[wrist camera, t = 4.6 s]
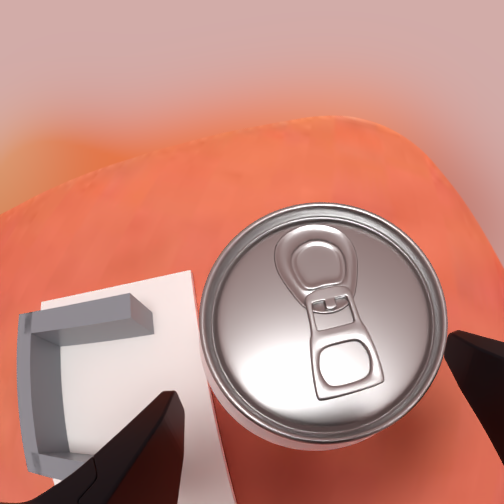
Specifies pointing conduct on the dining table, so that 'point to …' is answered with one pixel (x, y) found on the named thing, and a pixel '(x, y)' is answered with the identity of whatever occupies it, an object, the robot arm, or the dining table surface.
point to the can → (321, 326)
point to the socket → (117, 379)
